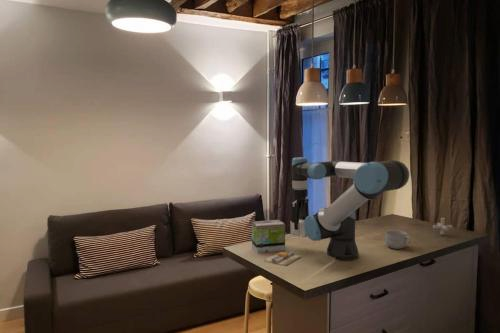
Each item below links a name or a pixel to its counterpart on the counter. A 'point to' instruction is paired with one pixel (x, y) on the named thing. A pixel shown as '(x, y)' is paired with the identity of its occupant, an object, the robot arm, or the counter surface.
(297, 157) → the robot arm
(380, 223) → the counter surface
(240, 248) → the counter surface
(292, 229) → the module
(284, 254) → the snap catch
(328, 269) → the counter surface
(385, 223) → the counter surface
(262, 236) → the tea box
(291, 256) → the rail board
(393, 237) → the teacup
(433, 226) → the pipe connector
